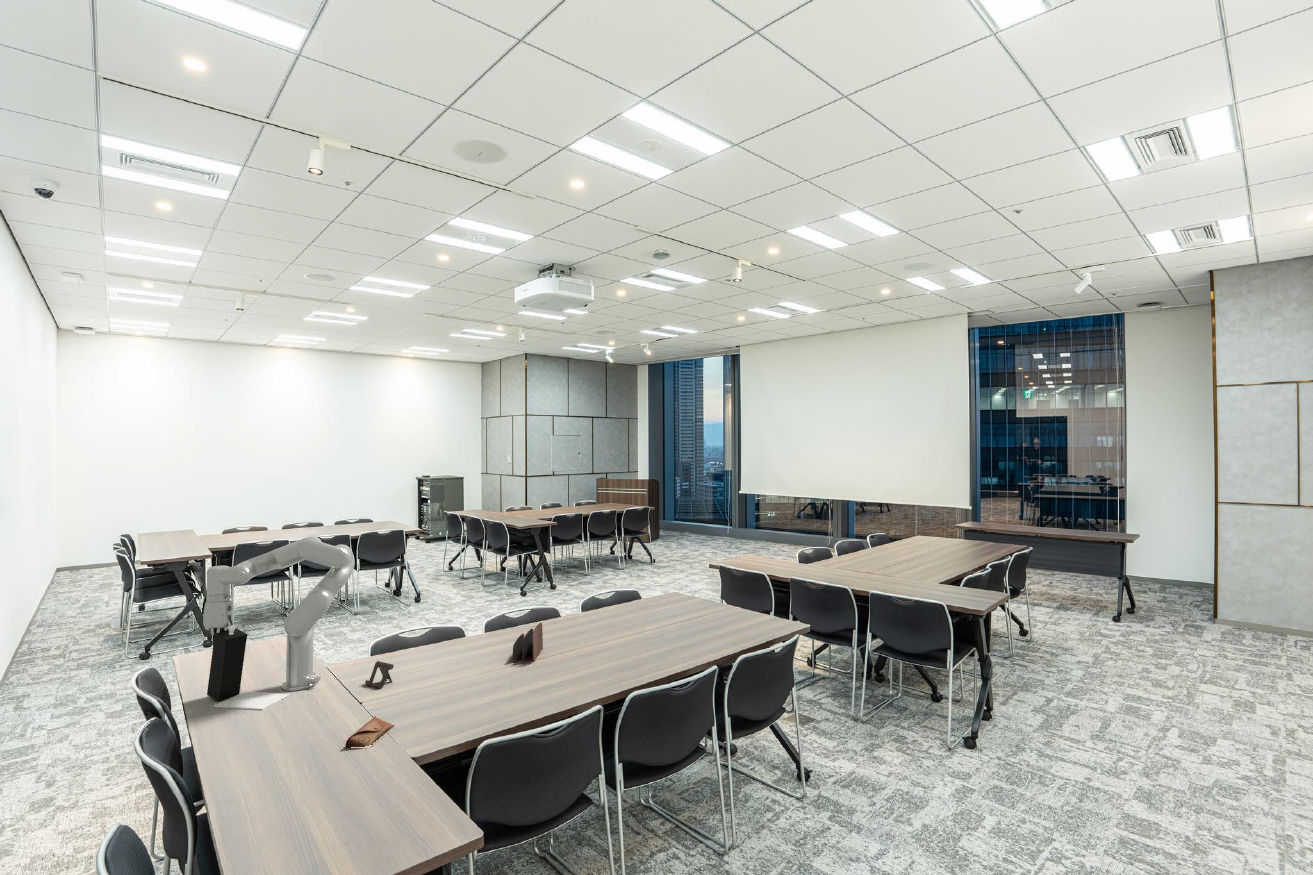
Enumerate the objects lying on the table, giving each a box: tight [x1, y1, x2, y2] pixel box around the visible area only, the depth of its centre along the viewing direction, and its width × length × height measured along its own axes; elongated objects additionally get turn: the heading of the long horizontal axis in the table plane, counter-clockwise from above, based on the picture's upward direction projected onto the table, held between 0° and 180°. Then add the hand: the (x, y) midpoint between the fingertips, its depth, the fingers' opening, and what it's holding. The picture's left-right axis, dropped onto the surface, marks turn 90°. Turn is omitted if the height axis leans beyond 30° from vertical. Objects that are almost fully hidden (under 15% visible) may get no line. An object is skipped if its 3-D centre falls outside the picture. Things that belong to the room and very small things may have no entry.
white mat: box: [214, 691, 291, 711], centre depth 235 cm, size 20×14×1 cm
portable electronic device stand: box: [364, 660, 394, 690], centre depth 253 cm, size 9×8×8 cm
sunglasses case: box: [345, 715, 395, 749], centre depth 206 cm, size 18×7×7 cm
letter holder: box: [511, 622, 544, 664], centre depth 289 cm, size 10×20×14 cm, turn 179°
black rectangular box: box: [206, 624, 248, 703], centre depth 239 cm, size 8×8×28 cm
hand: (217, 644), depth 240 cm, fingers closed
